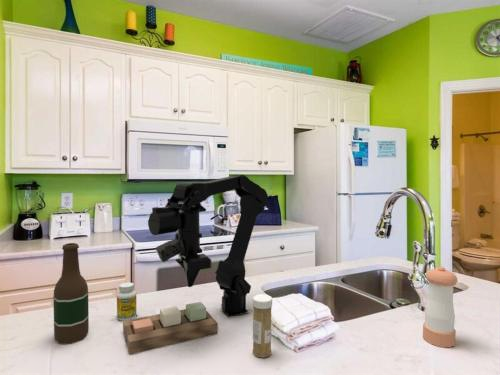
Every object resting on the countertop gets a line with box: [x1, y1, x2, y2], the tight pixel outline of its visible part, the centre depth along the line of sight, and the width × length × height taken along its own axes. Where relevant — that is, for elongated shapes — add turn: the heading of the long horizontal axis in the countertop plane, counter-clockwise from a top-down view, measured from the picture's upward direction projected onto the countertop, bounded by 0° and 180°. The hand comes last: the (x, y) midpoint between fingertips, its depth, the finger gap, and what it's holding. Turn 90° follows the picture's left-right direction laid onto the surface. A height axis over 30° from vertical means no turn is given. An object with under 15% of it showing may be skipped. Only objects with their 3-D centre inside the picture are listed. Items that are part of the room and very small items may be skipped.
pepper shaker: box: [422, 266, 458, 348], centre depth 84 cm, size 7×7×19 cm
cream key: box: [159, 305, 181, 327], centre depth 86 cm, size 4×4×3 cm
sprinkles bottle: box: [252, 294, 273, 358], centre depth 77 cm, size 5×5×14 cm
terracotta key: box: [132, 318, 153, 334], centre depth 83 cm, size 4×4×3 cm
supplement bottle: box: [116, 282, 138, 322], centre depth 95 cm, size 5×5×10 cm
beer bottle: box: [53, 242, 90, 345], centre depth 83 cm, size 8×8×24 cm
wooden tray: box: [122, 308, 219, 356], centre depth 86 cm, size 22×12×3 cm, turn 118°
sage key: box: [185, 301, 207, 322], centre depth 89 cm, size 4×4×3 cm
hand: (189, 286), depth 88 cm, fingers closed
